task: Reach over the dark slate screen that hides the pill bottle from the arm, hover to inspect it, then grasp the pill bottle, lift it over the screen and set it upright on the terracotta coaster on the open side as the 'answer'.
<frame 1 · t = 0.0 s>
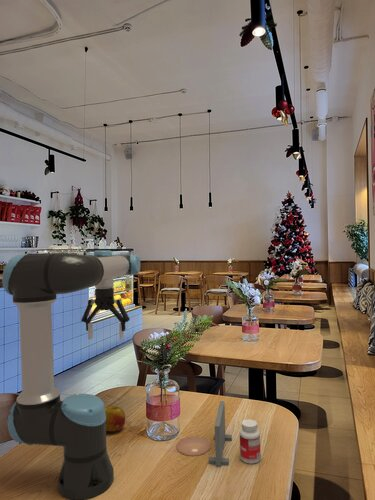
hand: (106, 338, 157), 28 cm above the table, fingers open, 13 cm apart
pill bottle: (250, 459, 115), on the table
screen: (220, 450, 121), on the table
coaster: (193, 446, 123), on the table
fruit: (112, 430, 137), on the table
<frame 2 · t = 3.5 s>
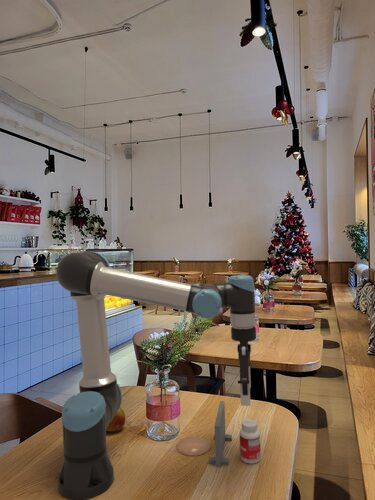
hand: (246, 395, 115), 19 cm above the table, fingers open, 13 cm apart
nothing on the table moved.
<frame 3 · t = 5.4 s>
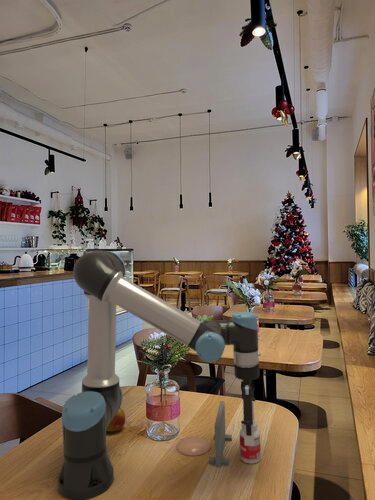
hand: (249, 433, 115), 8 cm above the table, fingers open, 13 cm apart
nothing on the table moved.
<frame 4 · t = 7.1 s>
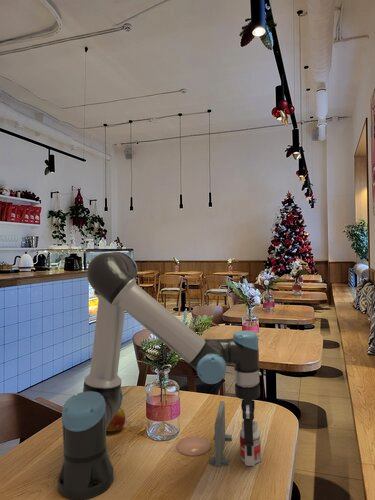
hand: (250, 458, 115), 0 cm above the table, fingers closed on pill bottle, 6 cm apart
pill bottle: (250, 459, 115), on the table, touching gripper
everything else where it was.
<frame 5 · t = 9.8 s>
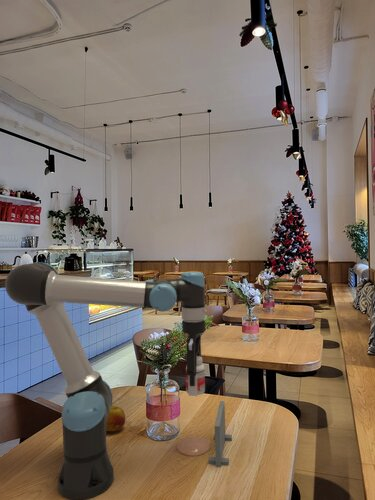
hand: (194, 391, 122), 19 cm above the table, fingers closed on pill bottle, 6 cm apart
pill bottle: (195, 392, 122), point 18 cm above the table, touching gripper
everything else where it was.
when the fingers open (2 cm above the table, at t = 12.6 s): pill bottle drops 2 cm, resting on coaster.
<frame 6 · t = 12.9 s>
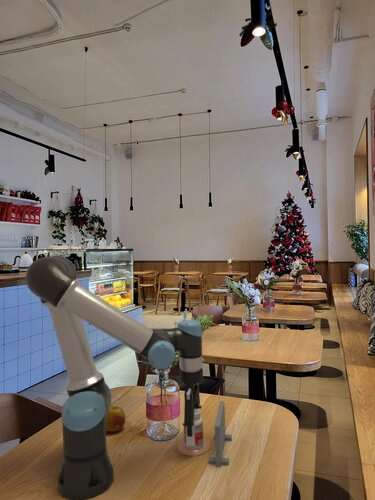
hand: (193, 436, 123), 3 cm above the table, fingers open, 10 cm apart
pill bottle: (193, 445, 123), resting on coaster
everything else where it was.
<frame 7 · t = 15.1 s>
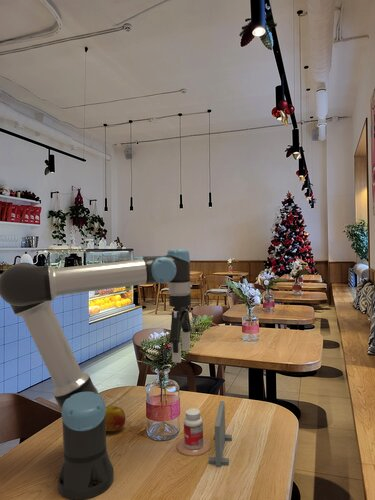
hand: (181, 356, 130), 28 cm above the table, fingers open, 13 cm apart
nothing on the table moved.
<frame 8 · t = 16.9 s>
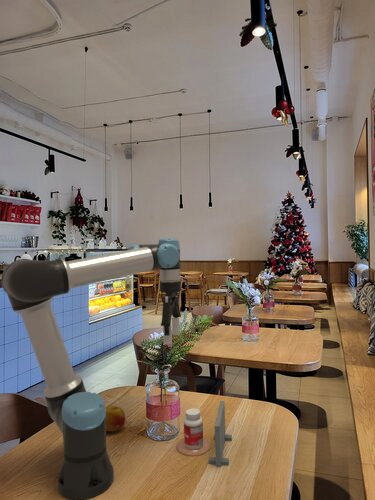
hand: (172, 339, 137), 32 cm above the table, fingers open, 13 cm apart
nothing on the table moved.
at the end: pill bottle 0.3 cm from the coaster (horizontally); pill bottle tilted 0°; the gripper is holding nothing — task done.
